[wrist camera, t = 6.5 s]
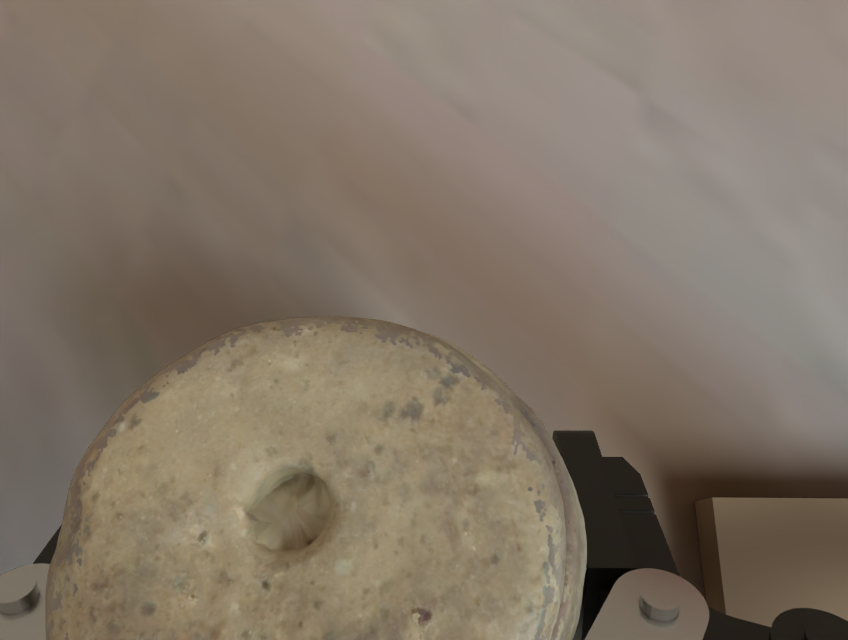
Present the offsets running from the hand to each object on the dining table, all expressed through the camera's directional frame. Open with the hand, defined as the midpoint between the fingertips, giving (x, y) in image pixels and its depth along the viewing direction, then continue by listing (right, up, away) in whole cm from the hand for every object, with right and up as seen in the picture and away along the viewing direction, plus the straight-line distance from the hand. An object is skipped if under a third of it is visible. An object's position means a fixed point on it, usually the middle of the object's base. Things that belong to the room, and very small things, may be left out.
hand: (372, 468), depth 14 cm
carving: (0, -4, +5) cm, 6 cm away
